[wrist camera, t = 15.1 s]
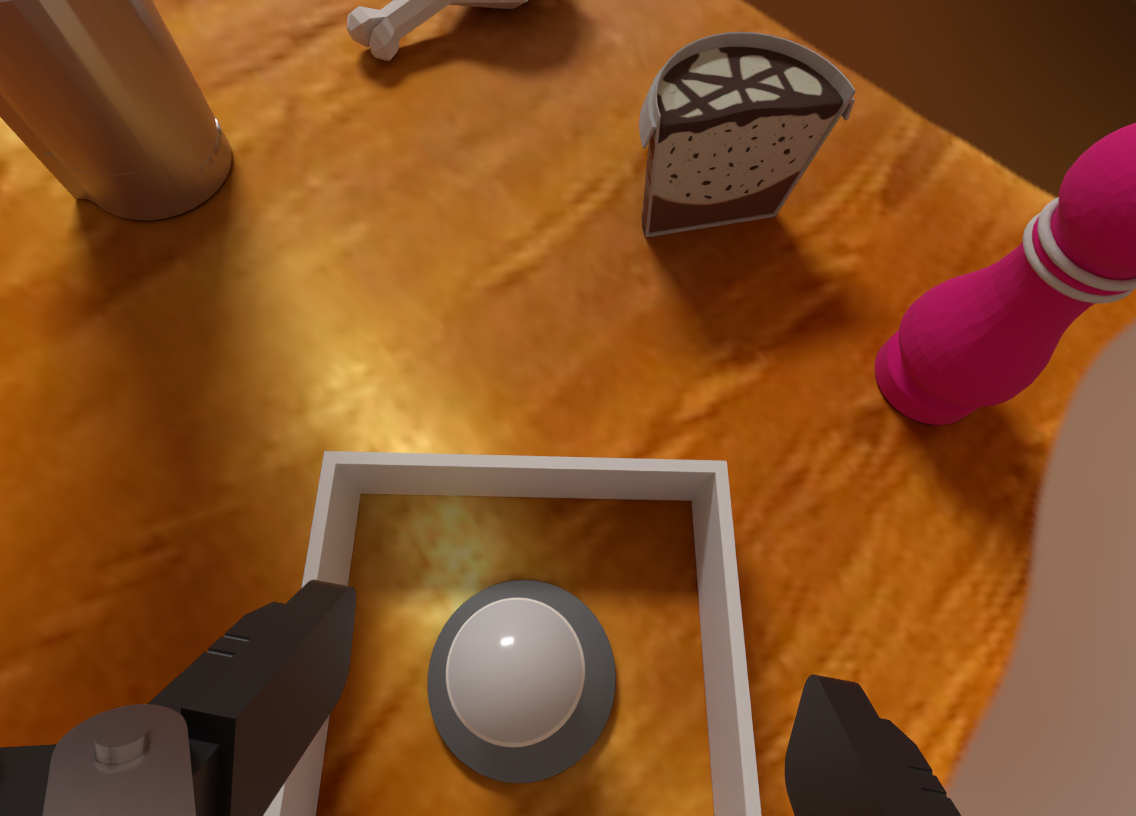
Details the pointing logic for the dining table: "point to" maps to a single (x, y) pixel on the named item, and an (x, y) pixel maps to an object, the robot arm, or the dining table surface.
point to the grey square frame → (560, 479)
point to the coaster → (578, 728)
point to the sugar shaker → (515, 672)
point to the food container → (734, 129)
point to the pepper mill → (1019, 296)
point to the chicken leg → (403, 21)
